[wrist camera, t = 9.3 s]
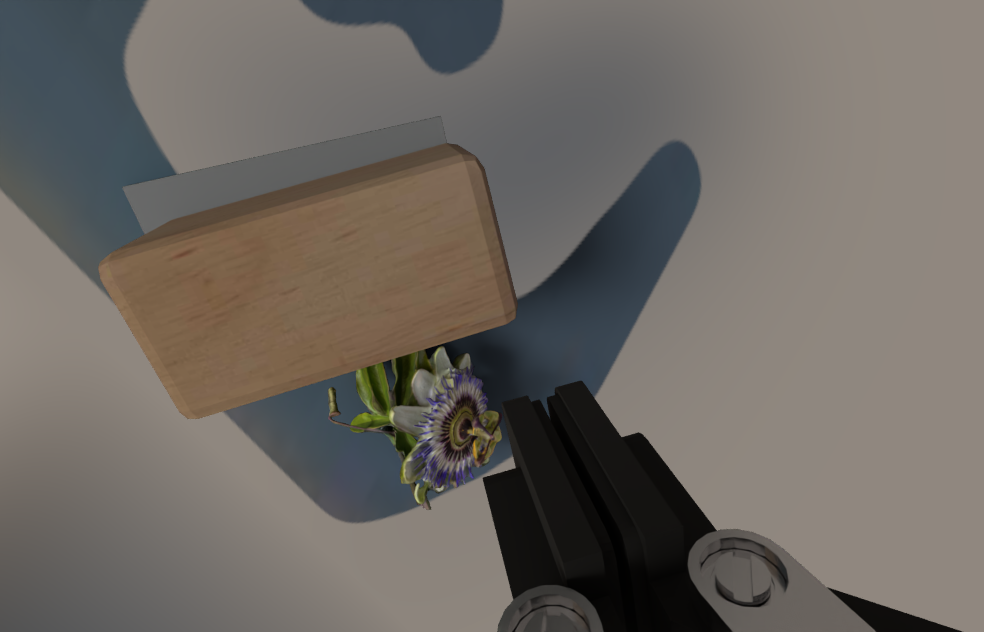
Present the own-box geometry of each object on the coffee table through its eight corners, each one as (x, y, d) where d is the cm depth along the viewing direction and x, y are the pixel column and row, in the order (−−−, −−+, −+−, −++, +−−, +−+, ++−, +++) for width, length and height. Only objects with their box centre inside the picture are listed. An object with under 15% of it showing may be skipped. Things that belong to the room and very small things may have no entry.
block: (482, 150, 26) (79, 264, 25) (525, 325, 30) (181, 431, 29) (458, 138, 36) (162, 220, 34) (493, 273, 40) (230, 352, 38)
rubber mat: (125, 186, 33) (122, 187, 33) (439, 116, 35) (440, 116, 35) (204, 350, 38) (202, 353, 38) (477, 281, 40) (478, 283, 40)
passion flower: (457, 353, 48) (527, 465, 42) (349, 414, 46) (406, 540, 40) (433, 282, 39) (519, 414, 33) (295, 355, 37) (359, 510, 31)
